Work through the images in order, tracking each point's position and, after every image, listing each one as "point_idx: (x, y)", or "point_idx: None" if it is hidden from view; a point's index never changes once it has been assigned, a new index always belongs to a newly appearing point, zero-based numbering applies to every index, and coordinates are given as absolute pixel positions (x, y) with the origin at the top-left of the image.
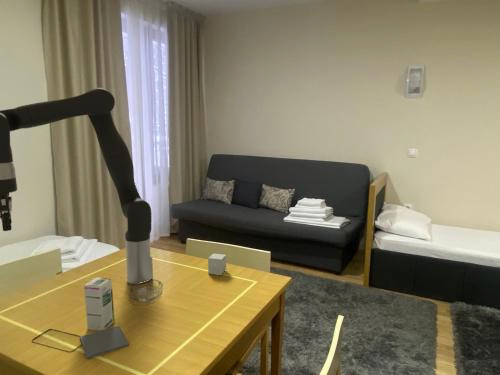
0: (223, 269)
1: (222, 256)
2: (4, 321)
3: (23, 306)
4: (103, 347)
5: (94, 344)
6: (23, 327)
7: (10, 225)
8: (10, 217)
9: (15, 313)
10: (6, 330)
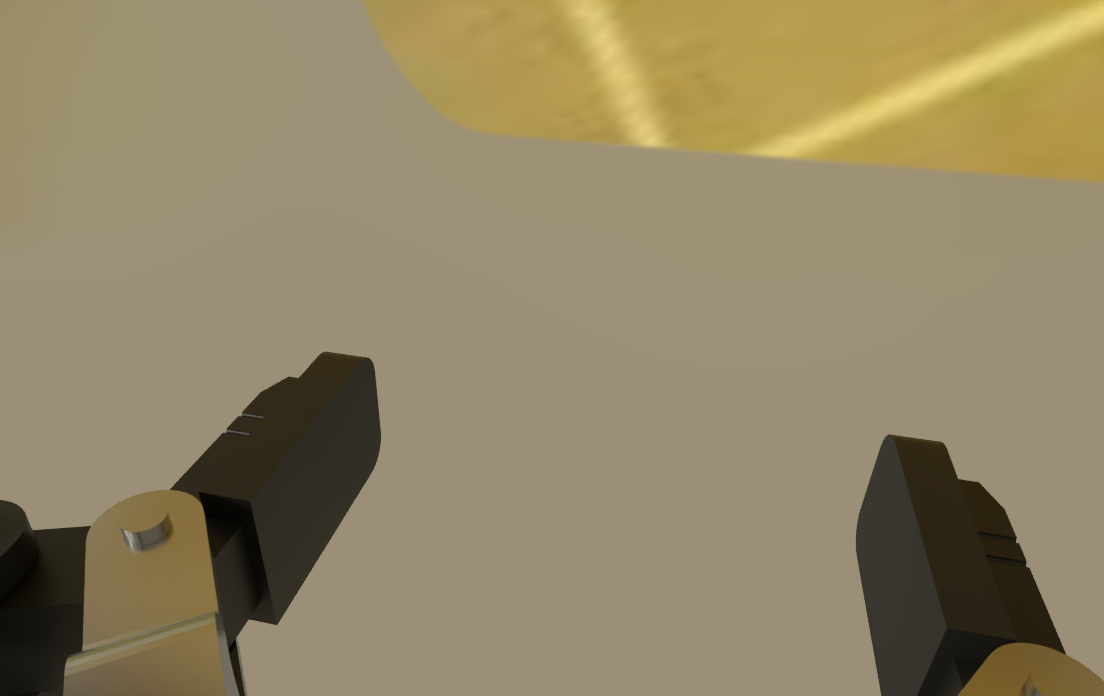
0: None
1: None
2: (822, 160)
3: (666, 31)
4: None
5: None
6: (1015, 64)
7: (963, 509)
8: (1060, 673)
9: (747, 90)
10: (966, 161)
